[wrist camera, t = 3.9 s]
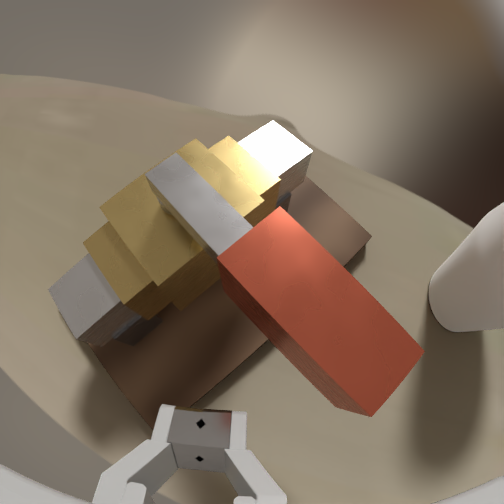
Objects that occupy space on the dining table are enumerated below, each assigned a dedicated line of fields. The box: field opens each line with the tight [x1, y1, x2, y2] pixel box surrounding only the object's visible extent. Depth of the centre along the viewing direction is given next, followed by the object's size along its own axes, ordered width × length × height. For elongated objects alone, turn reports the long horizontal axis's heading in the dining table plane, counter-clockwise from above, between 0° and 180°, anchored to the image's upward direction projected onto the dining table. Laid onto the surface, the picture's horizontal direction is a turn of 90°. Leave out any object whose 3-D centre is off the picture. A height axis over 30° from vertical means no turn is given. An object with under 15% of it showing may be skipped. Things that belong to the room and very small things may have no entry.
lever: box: [145, 153, 425, 417], centre depth 13 cm, size 13×3×5 cm, turn 43°
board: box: [88, 176, 372, 430], centre depth 25 cm, size 14×23×2 cm, turn 133°
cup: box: [429, 202, 504, 332], centre depth 20 cm, size 9×9×12 cm
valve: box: [48, 121, 312, 347], centre depth 20 cm, size 6×18×8 cm, turn 133°
